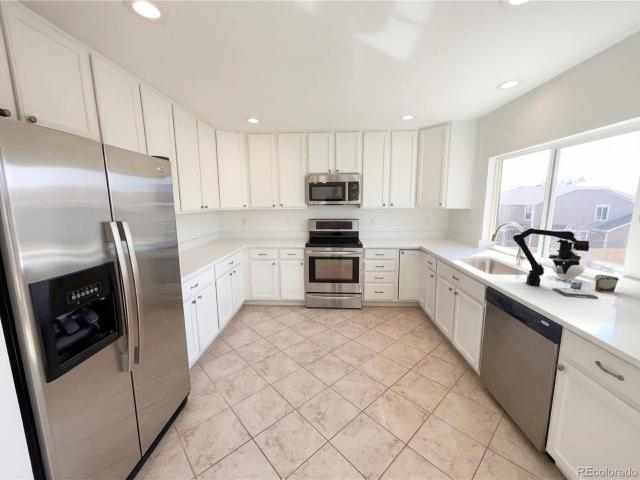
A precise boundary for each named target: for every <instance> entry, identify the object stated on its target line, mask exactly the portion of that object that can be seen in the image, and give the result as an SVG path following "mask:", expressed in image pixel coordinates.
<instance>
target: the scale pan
mask: <svg viewBox="0 0 640 480" xmlns="http://www.w3.org/2000/svg"><path fill="white" fill-rule="evenodd" d="M555 288H556V289H558V290H560V291H561V292H563V293H566V294H579V295H592V296H596V295H595V294H594V293H592V292H590V291H587V290H586V289H582V288H581V289H572V288H565V287H555Z"/></svg>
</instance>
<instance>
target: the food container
mask: <svg viewBox="0 0 640 480" xmlns="http://www.w3.org/2000/svg"><path fill="white" fill-rule="evenodd" d="M593 279H595V285H594V290H595V291H596V292H597V293H598V292H599V293H614V292H615V289H616V287H617V284H618V282H619V281H620V278H619V277H617V276H613V275H607V274H596V275H595V276H594V278H593Z"/></svg>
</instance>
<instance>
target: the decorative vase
mask: <svg viewBox="0 0 640 480" xmlns="http://www.w3.org/2000/svg"><path fill="white" fill-rule="evenodd" d="M571 251H572V252H573V253H575V255H577V256H579V254H580V252H579V251H578V250H575V249H573V245H572V249H571ZM579 262H580V264H579V265H572V266H571V267H570V268H569V269H568V271H567V274H558V273H556V272H557V268H556V266H555V264H554V262H553V261H552V262H551V269H552V271H553V272H554V273H555V274H556V275H554V276H553V277H554V278H555V279H557V280H560V281H566V282H571V281H572V280H576V281H578V279H577V277H579V276H581V275H582V274H583V273H584V272H585V271H586V270H585V269H586V268H585V265H584V264H583V262H582V261H581V259H580V260H579ZM563 263H564V262H563Z"/></svg>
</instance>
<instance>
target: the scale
mask: <svg viewBox="0 0 640 480" xmlns="http://www.w3.org/2000/svg"><path fill="white" fill-rule="evenodd" d="M556 288H557V287H552V288H551V289H552V291H554V292H555V293H556V292H557V293H558V294H559V295H561V296H564V297H571V298H572V297H573V298H583V299H584V298H586V299H594V300H595V299H599V296H597V295H595V296H592V295H579V294H566V293H563V292H561V291H560V290H558V289H556Z"/></svg>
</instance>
